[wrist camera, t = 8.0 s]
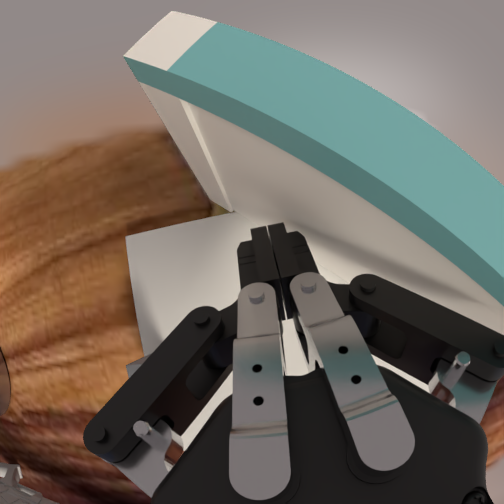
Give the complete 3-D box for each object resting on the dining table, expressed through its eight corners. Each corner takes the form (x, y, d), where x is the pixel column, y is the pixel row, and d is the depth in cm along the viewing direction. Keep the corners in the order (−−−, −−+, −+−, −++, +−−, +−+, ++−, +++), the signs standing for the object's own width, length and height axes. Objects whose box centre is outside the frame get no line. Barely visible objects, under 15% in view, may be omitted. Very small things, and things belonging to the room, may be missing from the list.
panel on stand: (174, 445, 19) (70, 587, 4) (131, 239, 21) (-44, 158, 6) (455, 381, 18) (606, 440, 3) (419, 183, 20) (555, 66, 5)
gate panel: (210, 199, 19) (122, 55, 6) (228, 174, 20) (171, 10, 6) (422, 335, 17) (584, 369, 4) (436, 308, 18) (601, 312, 5)
